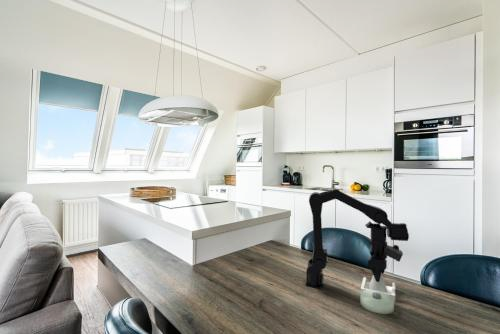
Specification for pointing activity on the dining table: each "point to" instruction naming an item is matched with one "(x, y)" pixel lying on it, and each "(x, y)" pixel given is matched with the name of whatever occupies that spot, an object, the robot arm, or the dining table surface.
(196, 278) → the dining table surface
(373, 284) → the flask
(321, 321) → the dining table surface
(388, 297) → the white tub with tabs
